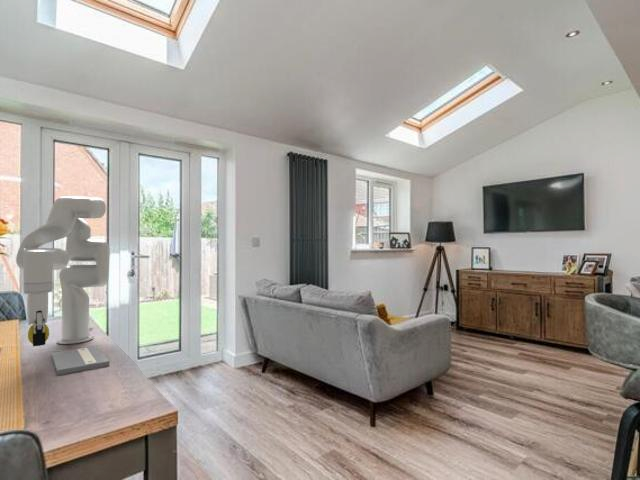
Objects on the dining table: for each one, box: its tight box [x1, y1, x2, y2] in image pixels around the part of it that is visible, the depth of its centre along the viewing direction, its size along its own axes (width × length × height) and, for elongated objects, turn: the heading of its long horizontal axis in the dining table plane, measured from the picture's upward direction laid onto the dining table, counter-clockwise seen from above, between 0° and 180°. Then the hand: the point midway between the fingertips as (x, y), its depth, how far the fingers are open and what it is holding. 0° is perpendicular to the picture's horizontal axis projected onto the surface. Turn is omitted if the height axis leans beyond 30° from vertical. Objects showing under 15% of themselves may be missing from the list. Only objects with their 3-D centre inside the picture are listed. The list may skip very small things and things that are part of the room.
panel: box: [51, 345, 110, 376], centre depth 125 cm, size 24×14×2 cm, turn 40°
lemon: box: [27, 323, 50, 345], centre depth 119 cm, size 6×6×8 cm
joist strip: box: [76, 347, 96, 364], centre depth 126 cm, size 22×3×1 cm, turn 40°
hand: (38, 342), depth 119 cm, fingers closed on lemon, 5 cm apart
